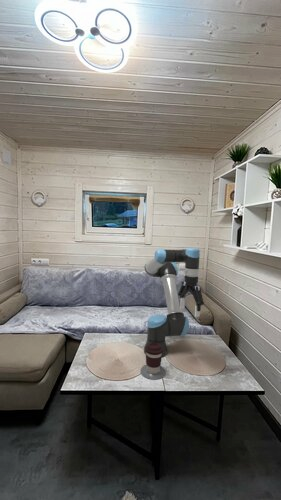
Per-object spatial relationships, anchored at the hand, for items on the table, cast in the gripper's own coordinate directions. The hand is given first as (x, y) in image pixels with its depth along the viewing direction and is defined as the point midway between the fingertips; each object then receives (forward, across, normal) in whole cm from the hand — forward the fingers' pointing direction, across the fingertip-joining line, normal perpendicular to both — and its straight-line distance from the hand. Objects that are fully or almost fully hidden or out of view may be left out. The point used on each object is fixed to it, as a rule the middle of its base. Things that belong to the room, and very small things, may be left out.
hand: (189, 312), depth 142 cm
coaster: (+33, -4, -20) cm, 39 cm away
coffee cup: (+32, -4, -20) cm, 38 cm away
